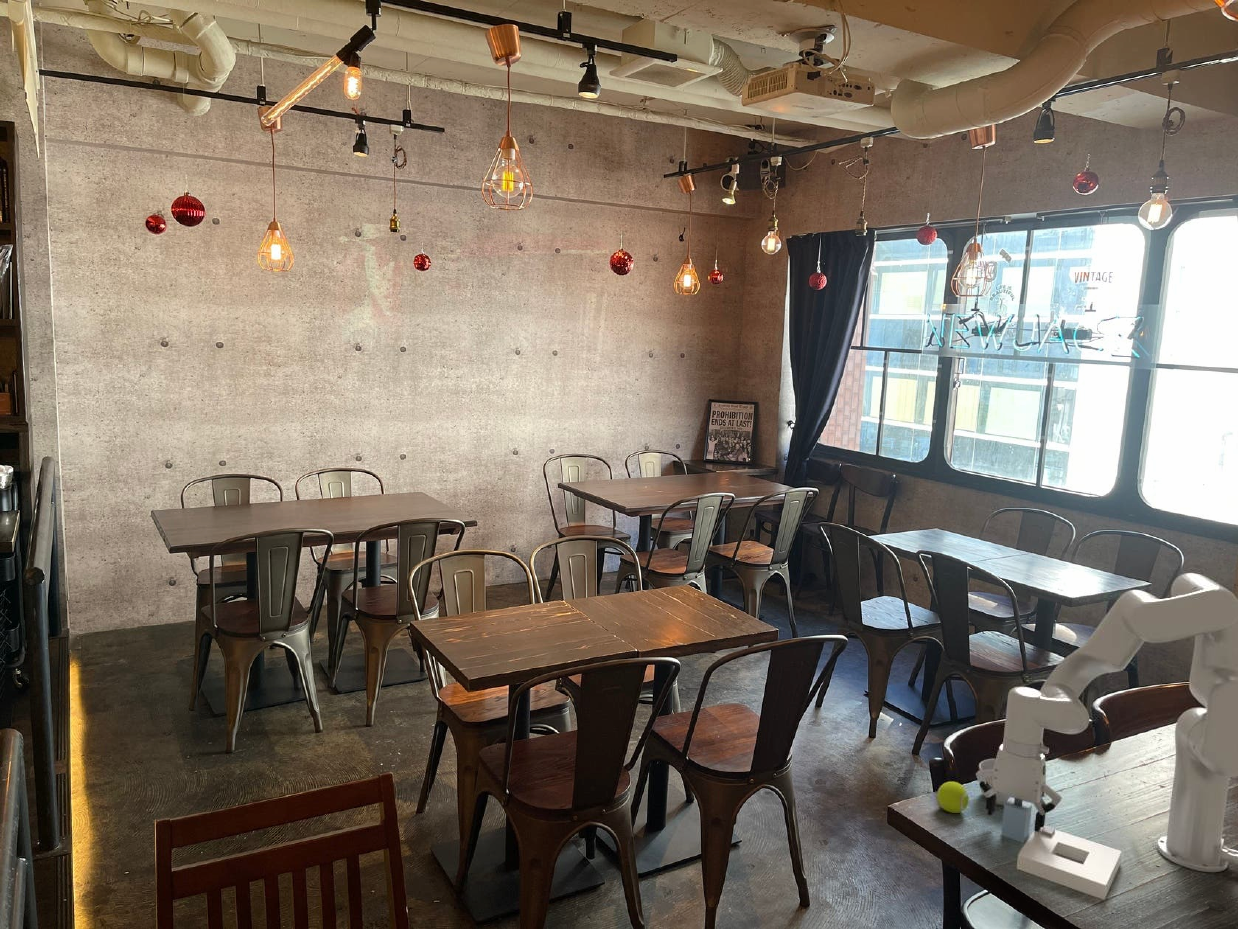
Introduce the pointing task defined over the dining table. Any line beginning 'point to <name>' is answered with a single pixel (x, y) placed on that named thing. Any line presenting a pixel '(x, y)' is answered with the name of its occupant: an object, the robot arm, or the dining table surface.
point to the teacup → (985, 765)
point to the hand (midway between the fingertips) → (1014, 821)
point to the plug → (1016, 819)
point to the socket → (1070, 861)
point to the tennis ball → (952, 797)
